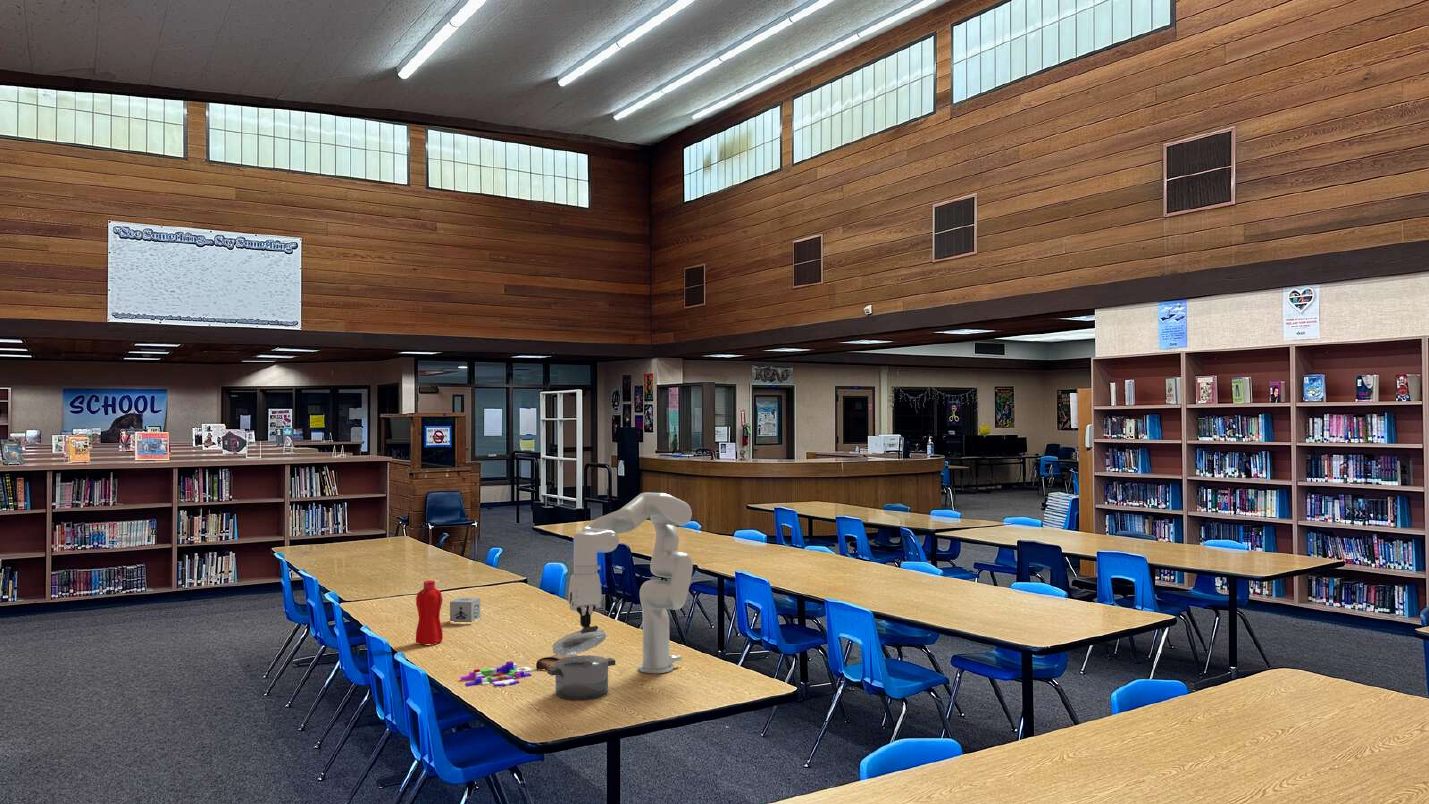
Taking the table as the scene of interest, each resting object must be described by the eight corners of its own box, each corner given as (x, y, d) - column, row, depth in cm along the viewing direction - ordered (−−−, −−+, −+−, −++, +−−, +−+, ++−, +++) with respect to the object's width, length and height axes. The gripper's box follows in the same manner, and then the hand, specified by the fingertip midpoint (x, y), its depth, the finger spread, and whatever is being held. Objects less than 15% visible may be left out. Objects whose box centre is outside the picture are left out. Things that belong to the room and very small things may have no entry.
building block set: (474, 693, 297) (474, 679, 297) (456, 678, 314) (456, 665, 314) (545, 681, 310) (545, 668, 310) (524, 667, 328) (524, 655, 328)
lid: (594, 651, 307) (592, 643, 308) (615, 626, 294) (613, 618, 295) (546, 658, 297) (544, 650, 299) (565, 633, 284) (563, 625, 285)
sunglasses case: (552, 672, 319) (545, 654, 321) (540, 679, 322) (533, 662, 324) (587, 661, 334) (580, 644, 336) (575, 668, 337) (569, 652, 339)
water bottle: (409, 645, 360) (409, 582, 360) (427, 639, 370) (427, 578, 370) (427, 647, 356) (427, 584, 357) (446, 641, 366) (446, 579, 367)
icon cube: (459, 619, 408) (459, 597, 409) (480, 620, 407) (480, 597, 407) (449, 624, 398) (449, 601, 399) (471, 624, 397) (471, 602, 397)
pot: (600, 680, 308) (600, 651, 308) (624, 693, 293) (624, 662, 294) (538, 691, 296) (538, 661, 296) (560, 705, 281) (560, 673, 281)
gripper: (601, 566, 300) (601, 622, 300) (559, 570, 292) (559, 627, 291) (611, 569, 294) (611, 626, 293) (568, 573, 286) (568, 632, 285)
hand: (585, 626), depth 292 cm, fingers closed
